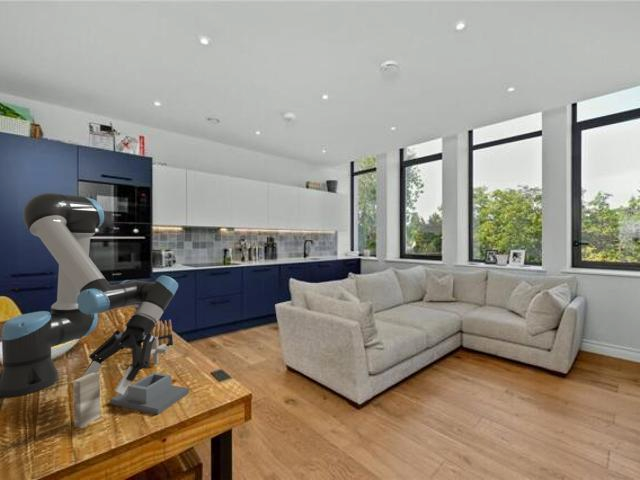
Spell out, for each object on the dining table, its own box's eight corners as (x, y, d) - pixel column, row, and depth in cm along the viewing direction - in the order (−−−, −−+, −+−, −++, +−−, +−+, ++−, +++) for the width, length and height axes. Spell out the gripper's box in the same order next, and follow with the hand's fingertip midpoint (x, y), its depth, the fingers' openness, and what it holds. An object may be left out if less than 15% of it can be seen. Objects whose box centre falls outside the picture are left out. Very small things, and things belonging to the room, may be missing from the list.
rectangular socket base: (110, 403, 90) (109, 385, 90) (144, 384, 101) (144, 368, 101) (158, 414, 84) (157, 394, 84) (189, 392, 96) (188, 375, 96)
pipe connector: (157, 369, 112) (157, 342, 112) (134, 367, 114) (134, 341, 114) (175, 358, 122) (175, 334, 122) (154, 356, 124) (153, 332, 124)
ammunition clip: (146, 351, 130) (146, 323, 130) (145, 350, 131) (145, 322, 131) (172, 345, 137) (172, 318, 137) (171, 344, 139) (171, 318, 139)
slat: (74, 426, 79) (73, 380, 79) (93, 415, 84) (92, 372, 84) (80, 428, 78) (80, 382, 78) (100, 417, 83) (99, 373, 83)
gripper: (182, 328, 96) (144, 400, 82) (122, 322, 103) (77, 387, 89) (169, 316, 91) (125, 391, 77) (107, 311, 98) (56, 378, 84)
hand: (99, 389), depth 83 cm, fingers open, 13 cm apart
